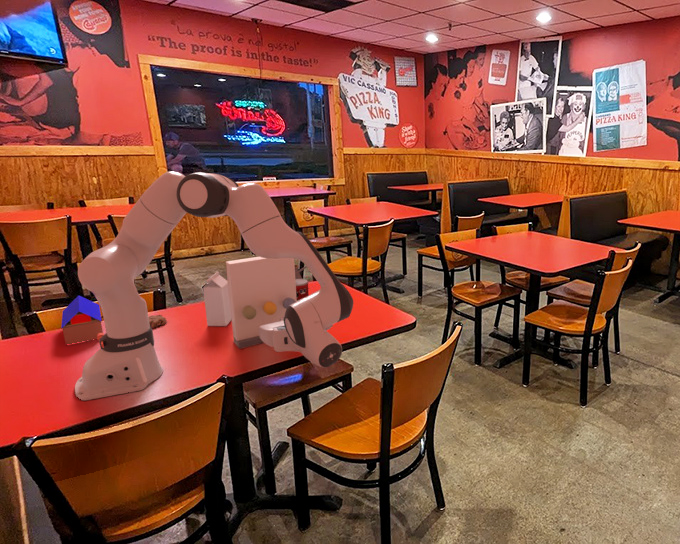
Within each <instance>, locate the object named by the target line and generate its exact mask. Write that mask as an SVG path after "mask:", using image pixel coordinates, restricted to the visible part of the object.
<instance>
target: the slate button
mask: <svg viewBox="0 0 680 544" xmlns="http://www.w3.org/2000/svg"><path fill="white" fill-rule="evenodd" d="M295 302H296V301H295V300H294V299H292V298H290V297H288V298H286V299H285V300H284V301H283V307H284V308H285V309H287V307H288V306H290V305H291V304H293V303H295Z"/></svg>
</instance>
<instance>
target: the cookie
mask: <svg viewBox="0 0 680 544" xmlns="http://www.w3.org/2000/svg"><path fill="white" fill-rule="evenodd" d="M148 318H149V324H150V326H151V328H152V329H154V328H157V327H159V326H163V325H165V324H166V323H167V322H168V321H167V318H166V317H164V316H163V315H162V314H155V315H150V316H149V315H148Z"/></svg>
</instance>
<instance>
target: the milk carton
mask: <svg viewBox="0 0 680 544" xmlns="http://www.w3.org/2000/svg"><path fill="white" fill-rule="evenodd" d="M206 282H207V283H206V284H205V285H204V286H203V289H202V290H203V298H204V299H203V300H204V307H205V317H206V325H207V327H227V326H228V325H229V324H230V322H232V318H231V308H230V298H229V288H228V279H226V278H225V277H223V276H222V275H220V271H216V272H215V273H214V274H212V275H211V276H210V277H208V278H207V279H206Z"/></svg>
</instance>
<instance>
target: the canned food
mask: <svg viewBox="0 0 680 544" xmlns="http://www.w3.org/2000/svg"><path fill="white" fill-rule="evenodd" d="M295 282H296V299H297V301H299V300H300V299H302V298H305V297H307V296H309V295H310V294H309V281H308V280H307V279H304V278H302V279H295Z"/></svg>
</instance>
